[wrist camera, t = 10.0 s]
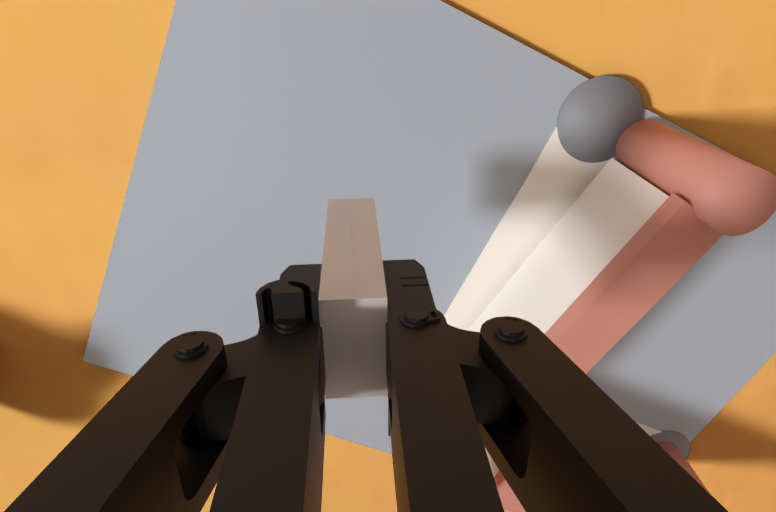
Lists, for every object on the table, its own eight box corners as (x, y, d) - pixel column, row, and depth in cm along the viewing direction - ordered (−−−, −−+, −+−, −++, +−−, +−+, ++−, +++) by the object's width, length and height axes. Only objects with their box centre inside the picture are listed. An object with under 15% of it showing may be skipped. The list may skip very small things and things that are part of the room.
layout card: (620, 517, 34) (623, 524, 34) (86, 356, 27) (81, 362, 26) (897, 226, 25) (907, 230, 25) (216, -140, 18) (212, -144, 17)
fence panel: (480, 365, 27) (513, 471, 21) (445, 347, 26) (469, 451, 20) (679, 137, 22) (796, 191, 16) (641, 109, 21) (748, 154, 15)
